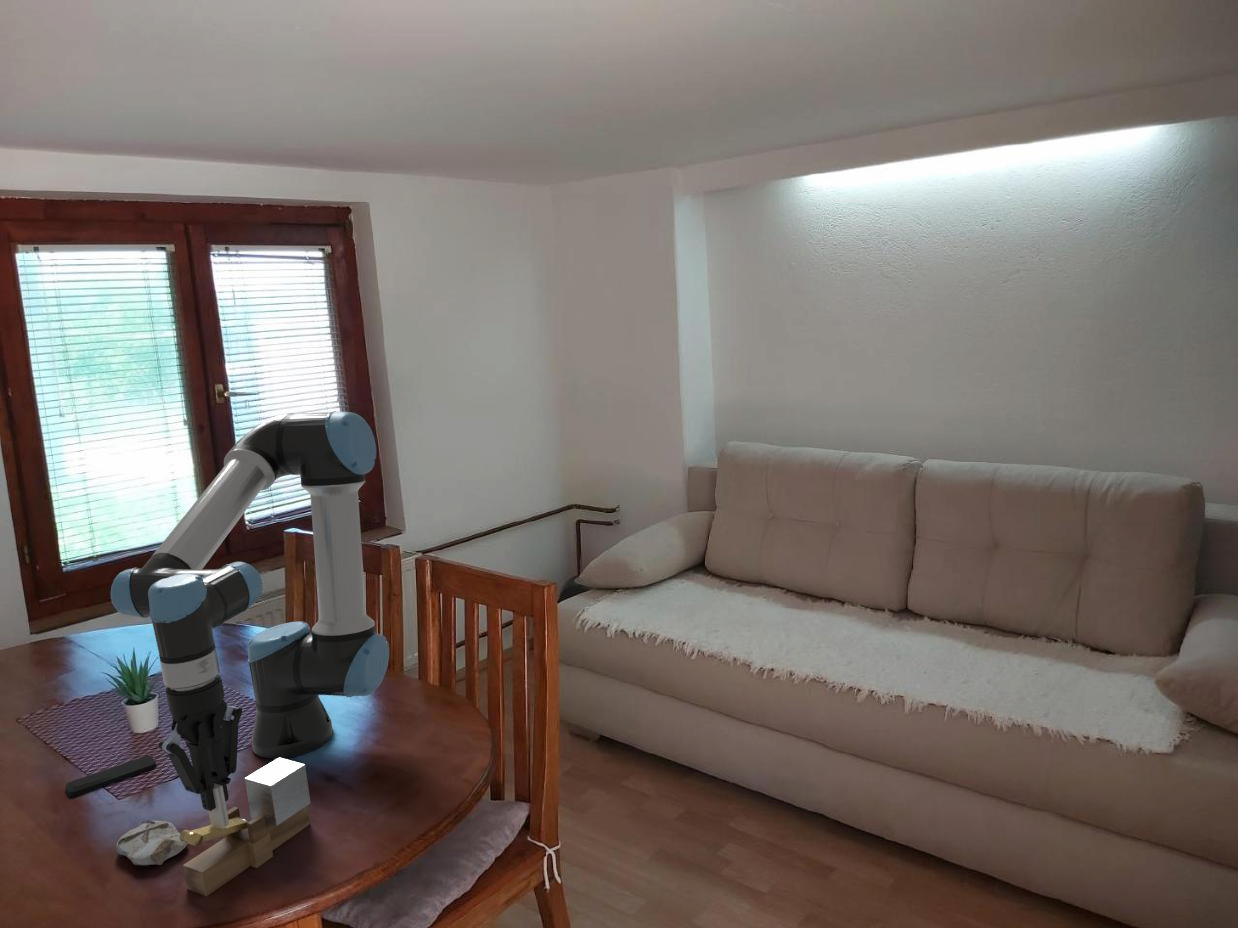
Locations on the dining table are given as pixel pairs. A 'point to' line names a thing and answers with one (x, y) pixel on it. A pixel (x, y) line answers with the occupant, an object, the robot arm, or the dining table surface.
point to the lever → (212, 831)
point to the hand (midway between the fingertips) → (220, 824)
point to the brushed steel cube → (277, 790)
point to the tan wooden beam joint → (240, 851)
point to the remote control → (110, 776)
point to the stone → (151, 843)
